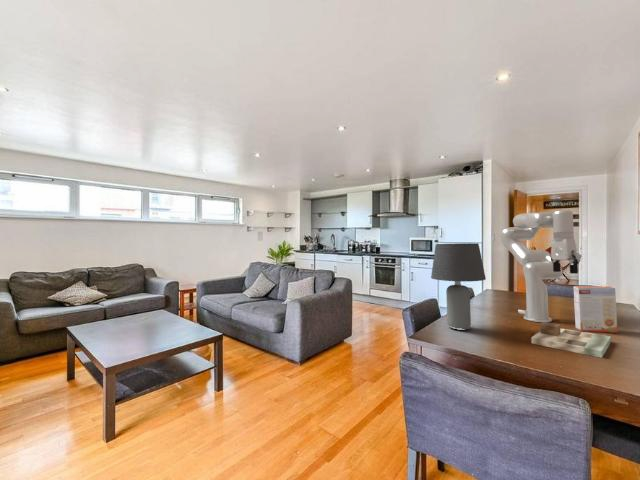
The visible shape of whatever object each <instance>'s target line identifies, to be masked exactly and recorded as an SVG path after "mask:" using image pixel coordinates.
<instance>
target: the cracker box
mask: <svg viewBox="0 0 640 480" xmlns="http://www.w3.org/2000/svg"><path fill="white" fill-rule="evenodd" d="M616 300H617V296H616V288H615V287H611V286H597V285H596V286H593V285H591V286H590V285H589V286H588V285H574V286H573V305H574V319H575V320H574V322H575V329H577V330H579V331H580V332H591V333H592V332H595V333H596V332H597V333H598V332H599V333H609V334H610V333H613V334H614V333H615V334H617V333H618V319H617V318H618V316H617V315H618V314H617V301H616Z"/></svg>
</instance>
